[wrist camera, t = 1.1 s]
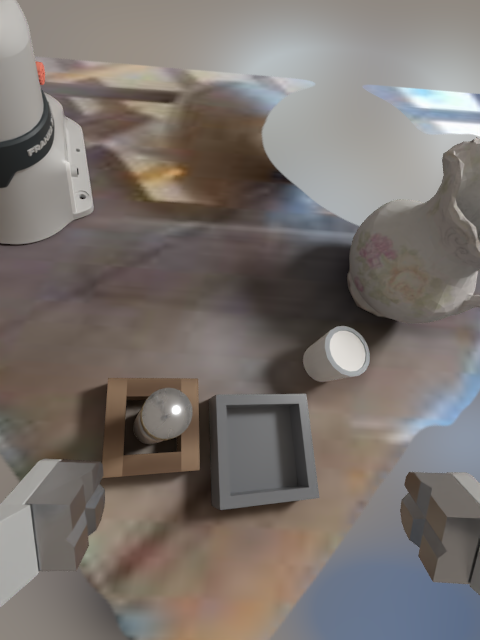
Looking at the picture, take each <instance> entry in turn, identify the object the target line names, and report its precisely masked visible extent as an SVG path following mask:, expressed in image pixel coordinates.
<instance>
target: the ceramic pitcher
mask: <svg viewBox="0 0 480 640" xmlns="http://www.w3.org/2000/svg"><path fill="white" fill-rule="evenodd" d="M442 162H443V173H444V176H443V180H442V184H441V186H440V187H439V189H438V191H437V193H436V195H435V196H434V197H432V198H431V199H430V200H429V201H427V202H426V203H422V202H419V201H413V200H395V201H391V202H389V203H386V204H384V205H383V206H381V207H380V208H379V209H377V210H376V211H374V212H373V213H372V214H371V215H370V216H369V217H368V218H367V219H366V220H365V221H364V222H363V223H362V224H361V226H360V227H359V229H358V230H357V232H356V234H355V235H354V237H353V241H352V245H351V249H350V254H349V264H350V269H349V272H348V274H347V282H348V288H349V291H350V293H351V295H352V297H353V299H354V301H355V303H356V305H357V306H358V307H360V308H362V309H364V310H366V311H368V312H370V313H372V314H374V315H376V316H378V317H384V318H388V319H390V318H391V319H393V320H396V321H399V322H403V323H407V324H415V323H428V322H434V321H437V320H441V319H444V318H446V317H449V316H452V315H458V314H460V313H463V312H465V311H467V310H470V309H472V308H474V307H480V295H474V296H473V293H474V291H475V286H476V279H477V273H478V272H477V271H478V270H480V139H478V138H476V139H475V140H472V141H470V142H462V143H460V144H457V145H455V146H453V147H452V148H451V149H450V150H448V151H447V152H445V153H444V154H443V159H442Z"/></svg>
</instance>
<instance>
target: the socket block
mask: <svg viewBox="0 0 480 640" xmlns="http://www.w3.org/2000/svg"><path fill="white" fill-rule="evenodd" d="M163 388H174V389H177V390H180V391H181V392H183V393H184V394H185V395H186V396H187V397H188V399H189V400H190V402H191V405H192V411H193V413H192V419H191V422H190V424H189V426H188V428H187V429H186V430H185V431H184V432H183V433H182V434H181V435H179V436H178V437H177V452H167V453H152V454H136V455H123V451H124V432H125V414H126V400H146V399H147V398H148V397H149V396H150V395H151V394H152V393H154V392H155V391H157V390H159V389H163ZM102 464H103V474H104V476H103V477H102V478H110V477H122V476H134V475H146V474H159V473H171V472H183V471H195V470H200V455H199V400H198V379H180V378H108V388H107V402H106V415H105V429H104V442H103V456H102Z"/></svg>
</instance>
